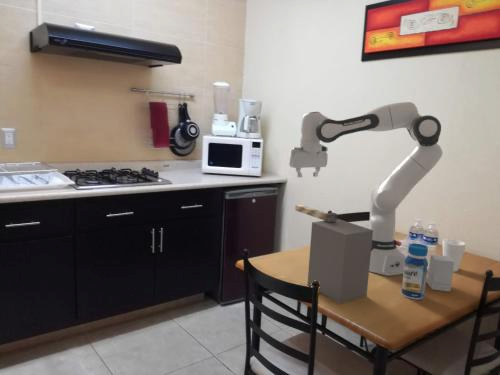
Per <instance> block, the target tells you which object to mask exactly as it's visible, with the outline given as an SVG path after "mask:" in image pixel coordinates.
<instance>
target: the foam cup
mask: <svg viewBox="0 0 500 375" xmlns="http://www.w3.org/2000/svg"><path fill="white" fill-rule="evenodd" d="M466 245H467V244H466V242H465V241H462V240H459V239H451V238H443V239H442V245H441V246H442V256H449V257H450V258H451V259H452V260H453V261H454V267H453V272H458V271H459V268H460V266H461V261H462V257H463V255H464V251H465V249H466Z"/></svg>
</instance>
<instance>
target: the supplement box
mask: <svg viewBox="0 0 500 375" xmlns="http://www.w3.org/2000/svg"><path fill="white" fill-rule="evenodd" d="M453 267H454V261H453V260H452V259H451V258H450V257H449V256H443V254H441V255H440V254H430V258H429V263H428V272H427V279H426V280H427V281H426V284H427V285H428V286H429V288H430V289H431V290H433V291H434V290H436V291H444V292H451V289H452V281H453V273H454V271H453Z"/></svg>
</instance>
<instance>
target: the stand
mask: <svg viewBox="0 0 500 375" xmlns="http://www.w3.org/2000/svg"><path fill="white" fill-rule="evenodd" d="M372 237H373V230H371V229H369V227H368V228H367V227H364V226H361V225H358V224H355V223H352V222H350V221H346V220H343V219H340V218H337V222H331V223H328V222H325V221H324V220H320V221H314V222H313V221H312V222H311V233H310V246H309V247H310V248H309V257H308V258H309V259H308V275H307V286H308V287H310V286H312V285H311V283H312V282H313V281H314V280H318V281H319V282H320V288H319V292H318V293H320V294H322V293H323V294H324V296H325V295H326V296H325V297H327V296H328V297H327V298H329V299H330V298H331V299H330V300H332V301H334V302H336V303H337V304H339V305H341V304H345V303H348V302H351V301H355V300H358V299H362V298H365V297H367V294H368V286H369V285H368V284H369V275H370V274H369V273H370V271H369V267H370V257H371V247H372ZM323 294H322V295H323ZM344 302H345V303H344Z"/></svg>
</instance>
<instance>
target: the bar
mask: <svg viewBox="0 0 500 375" xmlns="http://www.w3.org/2000/svg"><path fill="white" fill-rule="evenodd" d="M294 207H295V209H294V210H295V211H296V212H298V213H302V214H305V215H307V216H310V217H314V218H317V219H319V220H321V221H325V222H328V223H331V222H337V219H338V213H336V212H328V213H327V212H324V211H322V210H321V211H320V210H318V209H316V208H315V209H314V208H312V207H308V206H306V205H302V204H295V206H294Z"/></svg>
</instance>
